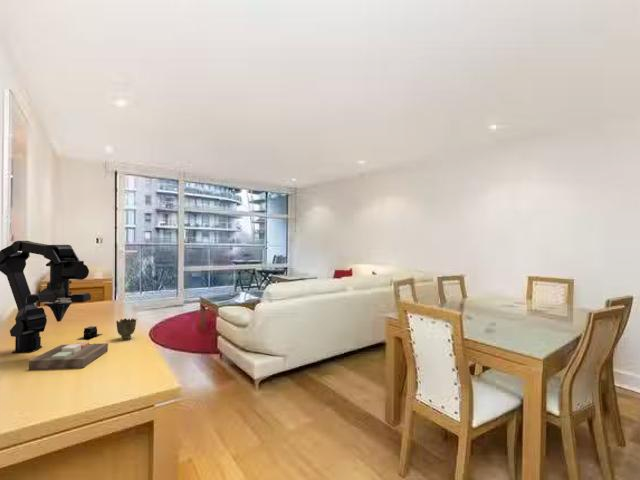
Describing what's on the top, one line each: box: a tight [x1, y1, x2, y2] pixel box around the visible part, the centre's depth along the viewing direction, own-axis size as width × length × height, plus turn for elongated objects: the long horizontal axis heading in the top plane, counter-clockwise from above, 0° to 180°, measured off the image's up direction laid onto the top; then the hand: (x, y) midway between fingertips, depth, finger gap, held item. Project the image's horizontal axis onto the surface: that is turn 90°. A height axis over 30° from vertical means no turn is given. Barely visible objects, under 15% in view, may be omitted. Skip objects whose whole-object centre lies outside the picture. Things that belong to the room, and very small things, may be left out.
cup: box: [115, 318, 137, 341], centre depth 143 cm, size 8×7×8 cm
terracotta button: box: [75, 341, 90, 348], centre depth 123 cm, size 4×4×3 cm
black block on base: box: [76, 325, 104, 341], centre depth 146 cm, size 12×7×5 cm, turn 176°
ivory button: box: [62, 343, 81, 353], centre depth 117 cm, size 4×4×3 cm
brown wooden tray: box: [28, 342, 109, 371], centre depth 117 cm, size 16×17×3 cm
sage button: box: [51, 352, 72, 359], centre depth 112 cm, size 4×4×3 cm
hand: (59, 321), depth 123 cm, fingers closed
